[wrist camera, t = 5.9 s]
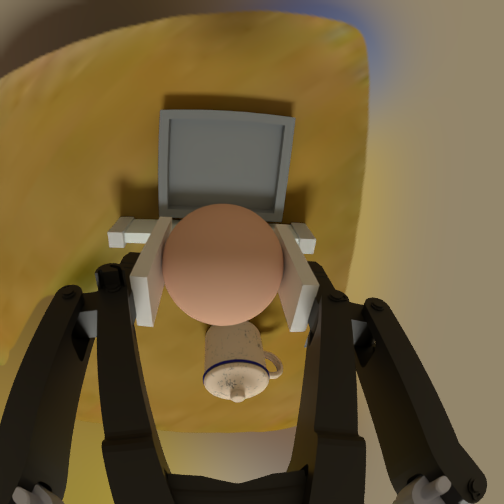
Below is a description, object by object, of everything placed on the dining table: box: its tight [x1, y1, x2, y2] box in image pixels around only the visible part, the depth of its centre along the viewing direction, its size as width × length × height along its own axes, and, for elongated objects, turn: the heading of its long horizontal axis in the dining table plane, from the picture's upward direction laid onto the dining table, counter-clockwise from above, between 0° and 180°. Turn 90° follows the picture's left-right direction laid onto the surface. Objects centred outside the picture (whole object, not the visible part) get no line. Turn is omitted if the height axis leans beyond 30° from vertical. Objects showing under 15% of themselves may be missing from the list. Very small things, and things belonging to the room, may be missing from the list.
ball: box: [162, 204, 284, 326], centre depth 14 cm, size 6×6×6 cm
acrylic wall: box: [108, 217, 316, 254], centre depth 31 cm, size 23×2×5 cm, turn 85°
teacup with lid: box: [203, 321, 283, 402], centre depth 37 cm, size 12×9×12 cm
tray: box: [158, 110, 295, 222], centre depth 28 cm, size 14×12×2 cm
